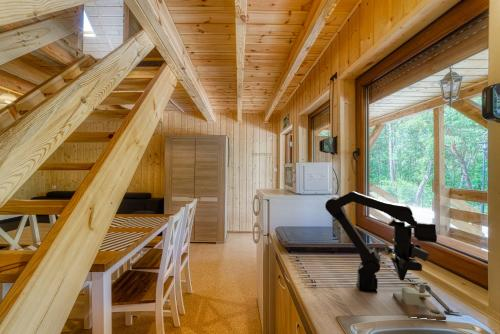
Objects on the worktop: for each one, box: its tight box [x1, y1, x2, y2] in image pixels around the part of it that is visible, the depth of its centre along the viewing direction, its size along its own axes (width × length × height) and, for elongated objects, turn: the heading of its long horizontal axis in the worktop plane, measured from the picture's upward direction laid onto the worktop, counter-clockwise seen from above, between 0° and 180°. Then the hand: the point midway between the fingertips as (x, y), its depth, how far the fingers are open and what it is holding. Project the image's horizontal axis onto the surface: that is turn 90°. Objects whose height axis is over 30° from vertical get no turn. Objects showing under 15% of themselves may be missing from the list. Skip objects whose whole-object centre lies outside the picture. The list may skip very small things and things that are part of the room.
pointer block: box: [401, 287, 431, 306], centre depth 91 cm, size 8×4×4 cm, turn 80°
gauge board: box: [392, 282, 447, 321], centre depth 90 cm, size 11×14×6 cm
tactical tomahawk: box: [425, 284, 462, 317], centre depth 96 cm, size 21×7×1 cm, turn 166°
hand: (401, 280), depth 98 cm, fingers closed
